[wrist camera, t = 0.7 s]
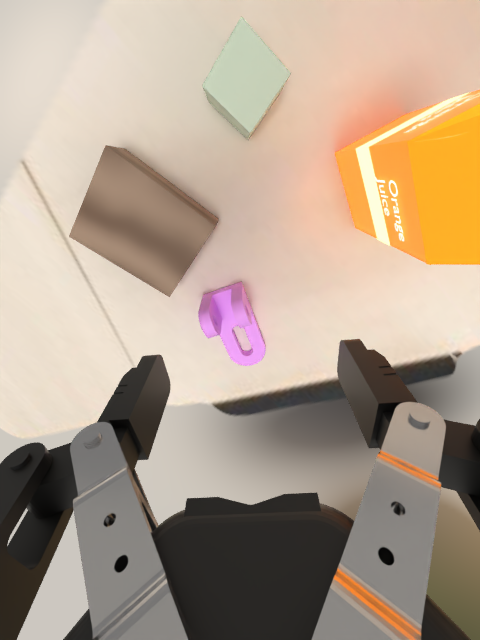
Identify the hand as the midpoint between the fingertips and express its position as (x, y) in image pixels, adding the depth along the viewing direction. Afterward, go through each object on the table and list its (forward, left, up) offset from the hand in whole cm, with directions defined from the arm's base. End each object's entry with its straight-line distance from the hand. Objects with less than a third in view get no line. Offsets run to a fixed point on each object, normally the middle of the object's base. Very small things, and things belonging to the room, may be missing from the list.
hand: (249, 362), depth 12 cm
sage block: (-11, -9, -24) cm, 28 cm away
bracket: (+10, +7, -25) cm, 28 cm away
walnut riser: (+5, -10, -25) cm, 27 cm away
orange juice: (-15, +7, -24) cm, 29 cm away
